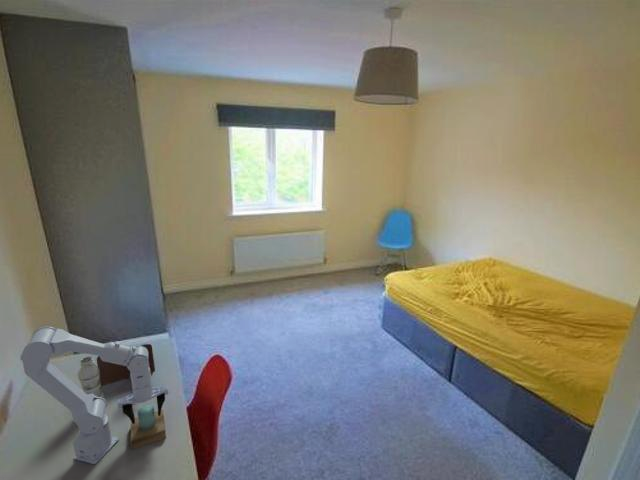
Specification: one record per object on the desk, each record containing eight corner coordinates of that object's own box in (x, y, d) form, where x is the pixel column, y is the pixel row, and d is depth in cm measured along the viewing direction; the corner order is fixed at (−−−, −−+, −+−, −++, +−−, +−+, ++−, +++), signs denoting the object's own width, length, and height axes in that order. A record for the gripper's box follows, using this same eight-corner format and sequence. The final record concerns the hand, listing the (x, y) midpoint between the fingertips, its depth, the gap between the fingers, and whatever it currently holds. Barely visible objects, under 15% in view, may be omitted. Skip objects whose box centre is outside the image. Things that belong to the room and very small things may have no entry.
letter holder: (155, 371, 145) (151, 342, 141) (100, 386, 136) (95, 356, 132) (153, 359, 153) (149, 331, 150) (102, 372, 144) (96, 343, 140)
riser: (166, 437, 112) (165, 430, 111) (131, 449, 108) (130, 441, 107) (163, 416, 121) (163, 409, 120) (132, 426, 116) (131, 419, 115)
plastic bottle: (96, 414, 121) (86, 366, 116) (80, 411, 122) (70, 363, 117) (110, 402, 127) (102, 355, 122) (95, 399, 128) (86, 353, 123)
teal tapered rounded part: (149, 431, 111) (146, 416, 109) (136, 428, 112) (134, 413, 110) (158, 420, 115) (157, 406, 114) (146, 417, 116) (144, 403, 115)
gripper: (165, 369, 116) (169, 402, 119) (116, 382, 109) (122, 416, 113) (166, 382, 110) (171, 416, 113) (115, 396, 103) (121, 432, 107)
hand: (146, 417), depth 113 cm, fingers open, 7 cm apart
